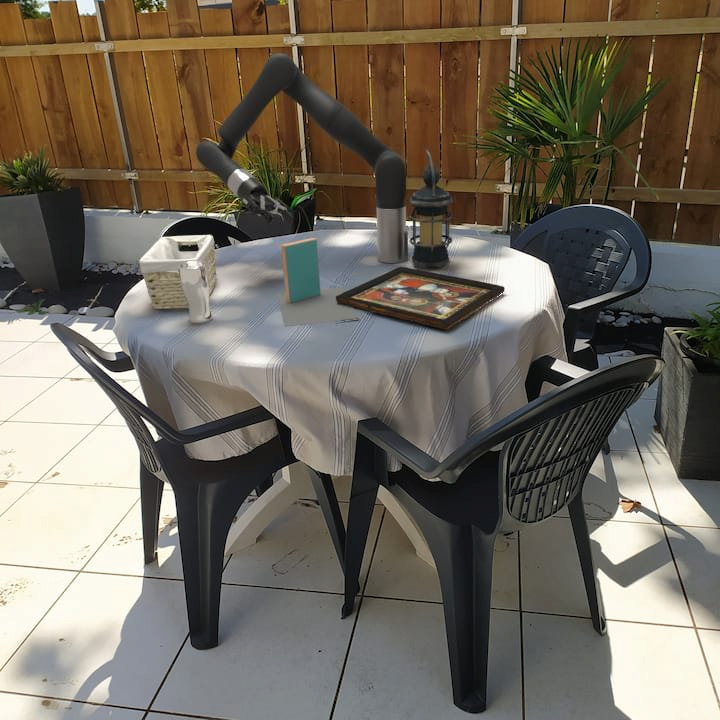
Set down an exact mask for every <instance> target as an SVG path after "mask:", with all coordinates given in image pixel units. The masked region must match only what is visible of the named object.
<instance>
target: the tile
mask: <svg viewBox="0 0 720 720" xmlns="http://www.w3.org/2000/svg"><path fill="white" fill-rule="evenodd" d="M280 247H281V248H280V249H281V258H282V267H283V268H282V270H283V278H284V289H285V293H286V302H288V303H293V302H297V301H300V300H304V299H307V298H311V297H315V296H318V295H321V293H320V290H321V282H320V281H321V280H320V266H319V254H318V252H319V251H318V239H317V238H315V237H311V238H304V239H301V240H297V241H292V242H288V243H283V244H280Z"/></svg>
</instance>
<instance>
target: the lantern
mask: <svg viewBox="0 0 720 720" xmlns="http://www.w3.org/2000/svg"><path fill="white" fill-rule="evenodd" d="M425 152H426V156H427V166H426V168H425V169H424V170H423V173H422V180H423V182H424V184H425V186H422V187H421V188H419V189H418V190H417V191H414V192H413V193H411V196H410V197H409V203H410V205H411V206H412V207H413V209H412V213H410V214H409V216H408V218H409V219H410V220H411V221H412V237H410V239H408V243H410V244H411V245H413V246H414V247H413V253H412V254H413V255H412V256H411V261H412V264H413V265H415V266H417V267H420V268H424V269H438V268H440V267H444V266H445V265H447V264H449V263H450V262H451V260H450V257H449V252H448V247H449V246H450V244H451V243H453V238H452V237H451V236H450V222H451V221H450V220H451V219H453V217H454V214H453V213H451V212H449V210H448V207H449V206H450V205H452V204H453V203H454V199H453V196H451V194H450V192H449V191H447V190H444V188H442V187H441V186H438V185H437V184H438V183H439V181H440V178H441V177H440V171H439V170H438V169H437V167H436V166H435V165H434V162H433V158H432V155H431V153H430V151H429V149H425ZM443 215H445V217H444V218H443ZM417 216H419V218H417ZM417 222H418V223H419V234H417ZM443 222H445V234H443ZM416 234H417V235H416ZM418 238H419V241H417V240H416V239H418ZM443 238H445V239H444V240H443ZM416 241H417V242H416Z"/></svg>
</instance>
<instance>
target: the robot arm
mask: <svg viewBox="0 0 720 720" xmlns="http://www.w3.org/2000/svg"><path fill="white" fill-rule="evenodd" d="M281 92H282V93H283V94H285V95H286V96H287V97H289V98H290V99H292V100H293V101H294V102H296V103H297V104H298V105H299V106H300V107H301V108H302V109H303V110H304V112H305V113H306V114H307V115H308V116H309V117H310V119H312V121H314V123H315V124H317V126H318V127H319V128H320V129H321V130H322V131H324V132H325V133H326V134H328V136H330V137H331V138H332V139H333V140H334V141H336V142H337V143H338V144H340V145H342V146H343V147H345V148H346V149H348V150H350V151H351V152H353V153H354V154H357V155H358V156H359V157H360V158H361V159H363V160H364V161H365V163H367V164H368V165H369V167H371V169H372V170H373V171H374V174H375V202H376V204H375V205H376V232H377V233H376V235H377V236H376V240H377V260H378V261H379V262H381V263H385V264H398V263H401V262H404V261H409V232H408V230H407V209H406V208H407V203H406V202H407V167H406V163H405V160H404V159H403V157H402V156H401V154H400V153H398V152H396V151H395V150H393V149H392V148H390V147H389V146H388V145H386V144H385V143H383V142H382V141H381V140H379V139H378V138H377V137H376V136H375V135H374V134H373V133H372V132H371V131H370V130H369V129H368V128H367V127H366V125H365V124H364V123H363V122H362V121H361V120H360V119H359V118H358V117H356V115H354V113H353V112H351V111H350V110H349V109H348V108H347V107H346V106H345V105H344V104H343V103H341V102H340V101H339V100H337V98H335V97H333V96H332V95H331V94H330V93H328V92H326V91H325V90H323V89H322V88H320V87H319V86H317V85H316V84H315V83H313V81H312V80H311V79H310V78H308V76H307V75H305V73H304V72H303V71H302V70H301V69H300V68H299V67H298V65H297V64H296V63H295V62H294V60H293V59H292V58H291V56H289V55H287V54H286V53H284V52H283V53H282V52H279V53H278V52H277V53H274V54H272V55H270V56H269V57H268V58H267V59H266V61H265V63H264V66H263V68H262V70H261V72H260V74H259V76H258V77H257V79H256V80H255V82H254V84H253V85H252V87H251V88H250V90H249V91H248V92H247V93H246V95H245V96H244V97H243V98H242V99H241V101H240V102H239V103H238V104H237V106H235V107H234V109H233V110H232V111H231V112H230V114H229V115H228V116H227V117H226V119H225V120H224V121H223V122H222V124H221V125H220V126H219V128H218V130H217V133H218V135H219V137H220V138H221V139H220V140H219V143H218V144H217V143H215V142H213V141H210V140H204V141H201V142H199V143H198V144H197V146H196V149H195V157H196V160H197V161H198V162H199V163H200V164H201V165H202V166H204V167H205V169H207V170H208V171H210V172H211V173H212V174H214V175H215V176H216V177H218V179H220V181H222V183H223V184H225V186H227V187H228V188H229V189H230V191H231V192H232V193H233V194H234V195H235V196H236V197H237V198H238V199H239V200H240V201H241V204H242V205H243V206H244V207H245V208H246V209H247V210H248V212H250V213H251V214H252V215H254V216H256V215H258V216H259V217H262V219H264V220H265V221H266V222H267V223H268V224H273V222H274V220H275V216H274V215H279V216H281V217H282V218H283V220H285V222H286V223H288V224H292V223H293V222H294V220H295V216H293V215H292V214H291V213H290V212H289V210H290V207H289V206H288V205H287V204H286V203H285V202H283V200H281V199H280V198H279V197H277V196H274V198H272V197H271V196H270V195H268V194H267V188H266V186H265V185H264V184H263V183H262V182H260V181H259V180H258V179H257V178H256V177H255V176H254V175H253V174H251V173H250V172H249V171H247V170H246V169H245V168H244V167H242V166H241V164H239V163H238V161H237V162H236V161H235V160H234V159H233V158H234V155H235V153H236V150H237V149H238V146H239V144H240V142H242V140H243V139H245V137H246V135H247V134H248V133H249V132H250V130H251V129H252V128H253V126H254V125H255V124H256V122H257V120H258V119H259V118H260V116H261V114H262V113H263V112H264V110H265V109H266V107H267V106H268V105H269V104H270V103H271V102H272V100H273V99H274V98H275V97H276V96H277V95H279V93H281ZM274 208H275V209H274ZM273 214H274V215H273Z"/></svg>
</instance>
